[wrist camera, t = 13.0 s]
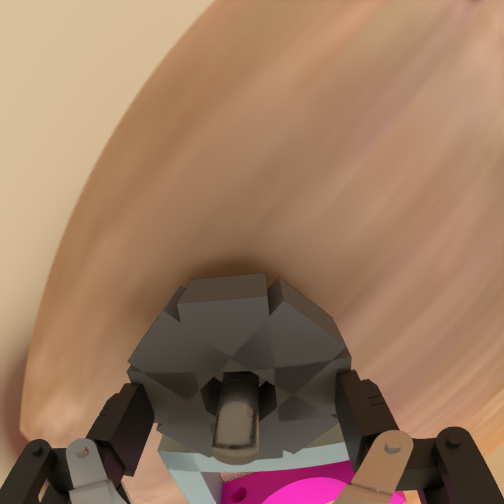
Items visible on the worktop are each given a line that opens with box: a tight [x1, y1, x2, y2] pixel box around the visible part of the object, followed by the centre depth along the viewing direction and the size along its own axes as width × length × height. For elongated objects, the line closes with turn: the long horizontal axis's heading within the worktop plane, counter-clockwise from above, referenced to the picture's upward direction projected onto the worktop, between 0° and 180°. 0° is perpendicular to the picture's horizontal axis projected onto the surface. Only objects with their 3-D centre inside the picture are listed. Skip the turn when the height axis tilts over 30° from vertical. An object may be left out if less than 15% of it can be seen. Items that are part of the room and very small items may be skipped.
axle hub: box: [211, 371, 266, 465], centre depth 13 cm, size 4×4×10 cm
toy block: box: [221, 460, 406, 504], centre depth 18 cm, size 15×6×8 cm, turn 128°
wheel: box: [127, 273, 351, 460], centre depth 12 cm, size 9×9×2 cm
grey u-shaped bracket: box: [158, 423, 350, 504], centre depth 21 cm, size 15×24×4 cm, turn 7°
